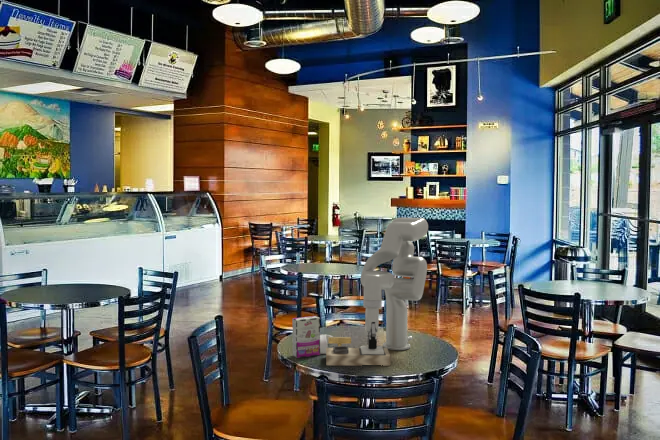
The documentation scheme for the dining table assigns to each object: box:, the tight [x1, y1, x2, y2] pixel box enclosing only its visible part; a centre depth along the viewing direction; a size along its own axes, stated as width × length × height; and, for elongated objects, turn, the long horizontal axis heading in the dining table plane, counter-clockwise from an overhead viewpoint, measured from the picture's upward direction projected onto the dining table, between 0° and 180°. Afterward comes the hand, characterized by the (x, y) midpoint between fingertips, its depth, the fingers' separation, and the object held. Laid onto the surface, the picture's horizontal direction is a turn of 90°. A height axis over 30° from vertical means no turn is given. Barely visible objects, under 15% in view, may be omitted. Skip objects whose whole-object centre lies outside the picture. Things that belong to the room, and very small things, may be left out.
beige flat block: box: [325, 345, 391, 367], centre depth 246 cm, size 26×12×6 cm, turn 91°
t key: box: [328, 336, 352, 346], centre depth 262 cm, size 10×4×6 cm, turn 91°
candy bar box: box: [291, 315, 321, 359], centre depth 254 cm, size 11×5×16 cm, turn 116°
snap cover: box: [360, 335, 384, 354], centre depth 246 cm, size 9×9×6 cm
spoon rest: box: [320, 333, 333, 355], centre depth 269 cm, size 24×12×7 cm, turn 7°
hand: (372, 346), depth 246 cm, fingers open, 5 cm apart
